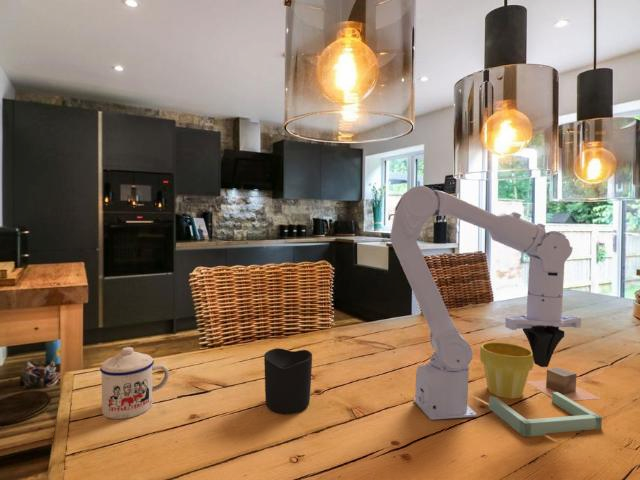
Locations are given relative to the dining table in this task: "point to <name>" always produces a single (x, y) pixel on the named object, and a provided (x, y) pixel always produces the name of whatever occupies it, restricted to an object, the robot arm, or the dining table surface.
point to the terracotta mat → (574, 396)
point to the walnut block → (561, 380)
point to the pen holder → (287, 380)
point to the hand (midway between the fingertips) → (541, 365)
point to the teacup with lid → (128, 384)
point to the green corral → (541, 426)
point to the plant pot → (506, 368)
